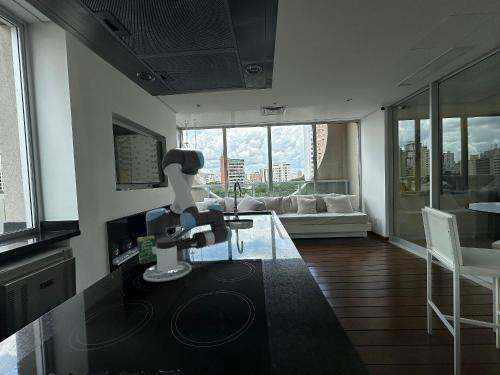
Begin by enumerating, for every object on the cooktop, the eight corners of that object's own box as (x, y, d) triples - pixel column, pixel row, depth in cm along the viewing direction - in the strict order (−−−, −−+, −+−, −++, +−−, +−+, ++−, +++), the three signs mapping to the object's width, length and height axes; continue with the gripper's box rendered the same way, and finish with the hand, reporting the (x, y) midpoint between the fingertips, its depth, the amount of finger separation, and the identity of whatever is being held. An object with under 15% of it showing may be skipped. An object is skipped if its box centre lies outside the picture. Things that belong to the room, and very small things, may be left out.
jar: (170, 261, 114) (169, 235, 113) (182, 266, 109) (181, 238, 108) (152, 268, 107) (150, 240, 106) (163, 273, 102) (162, 244, 101)
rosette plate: (137, 273, 113) (136, 269, 113) (179, 262, 126) (179, 257, 126) (153, 286, 97) (152, 281, 97) (199, 271, 110) (199, 266, 110)
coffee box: (139, 265, 125) (137, 238, 125) (139, 263, 128) (137, 237, 127) (156, 261, 129) (154, 235, 128) (156, 260, 131) (154, 234, 131)
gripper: (211, 249, 117) (160, 263, 102) (196, 244, 128) (148, 256, 113) (209, 233, 117) (158, 244, 102) (195, 230, 128) (146, 239, 113)
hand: (153, 250), depth 107 cm, fingers closed on jar
